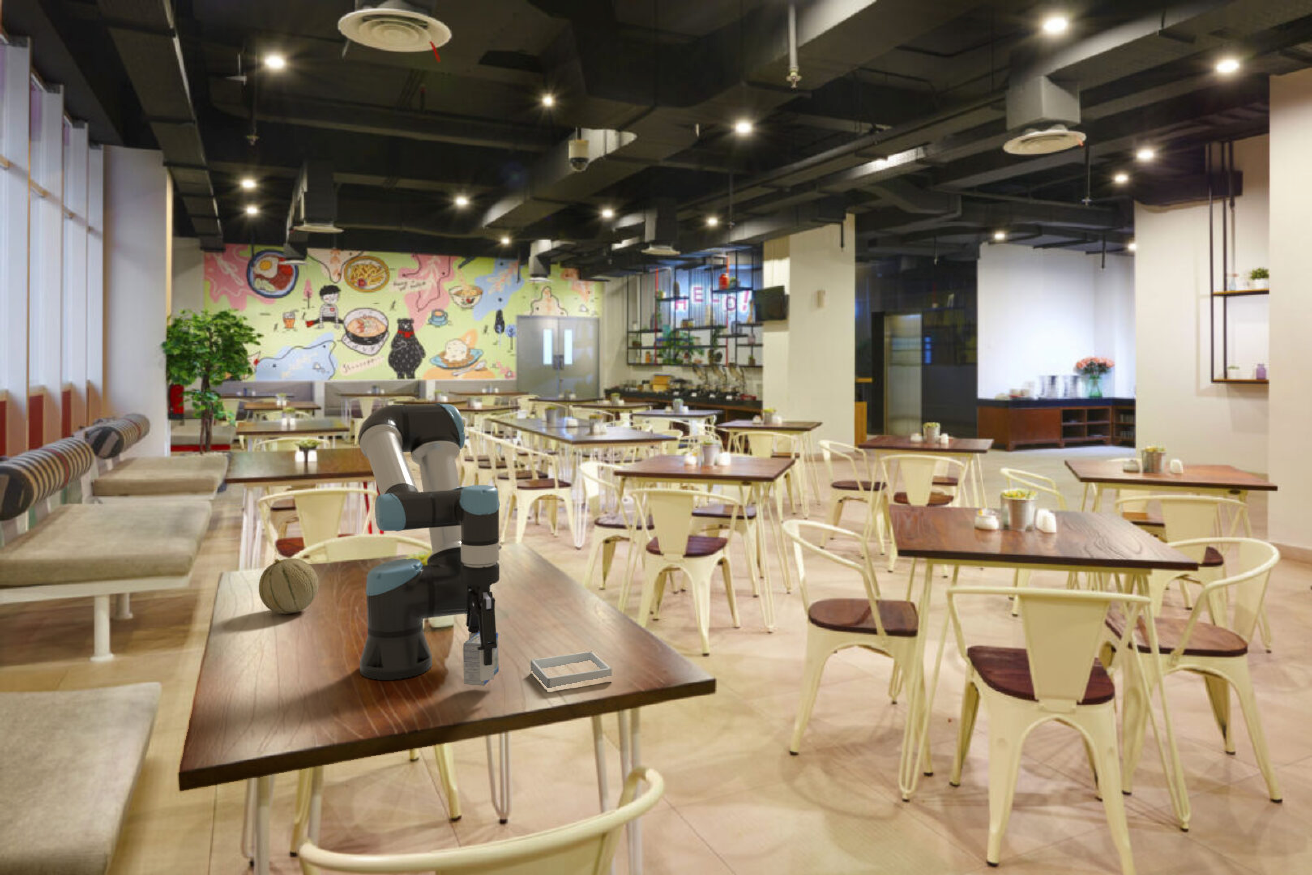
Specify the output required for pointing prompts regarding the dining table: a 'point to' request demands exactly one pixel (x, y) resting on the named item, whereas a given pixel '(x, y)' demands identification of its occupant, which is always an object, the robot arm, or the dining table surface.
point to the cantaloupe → (288, 586)
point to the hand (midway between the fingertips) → (481, 671)
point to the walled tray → (570, 678)
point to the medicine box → (475, 660)
